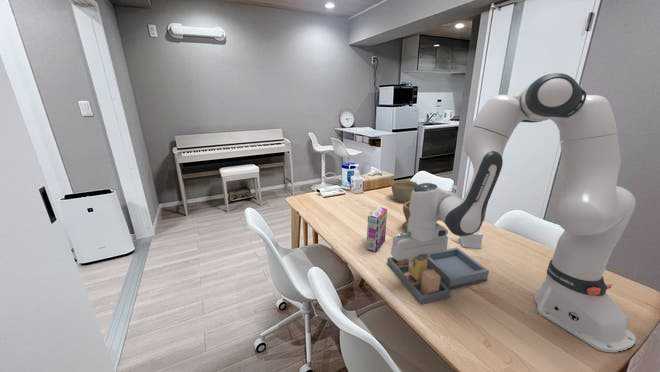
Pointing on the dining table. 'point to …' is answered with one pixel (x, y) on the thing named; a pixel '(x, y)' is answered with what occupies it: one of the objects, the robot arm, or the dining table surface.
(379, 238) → the candy bar box
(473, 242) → the medicine bottle
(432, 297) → the slot holder
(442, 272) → the tray
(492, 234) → the dining table surface
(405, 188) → the planter bowl
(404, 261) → the block
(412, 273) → the yellow box
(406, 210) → the brown clay vase
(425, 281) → the block
